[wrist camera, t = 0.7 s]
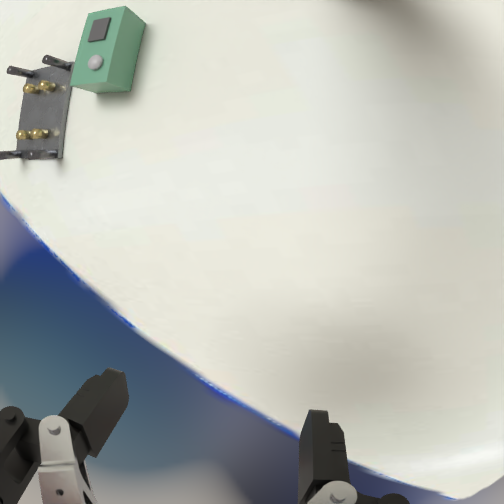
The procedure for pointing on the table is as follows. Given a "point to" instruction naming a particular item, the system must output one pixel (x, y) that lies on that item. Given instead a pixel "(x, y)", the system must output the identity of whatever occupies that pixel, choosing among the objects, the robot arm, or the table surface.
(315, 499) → the robot arm
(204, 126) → the table surface
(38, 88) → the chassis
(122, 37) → the module block
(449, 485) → the table surface
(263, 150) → the table surface
